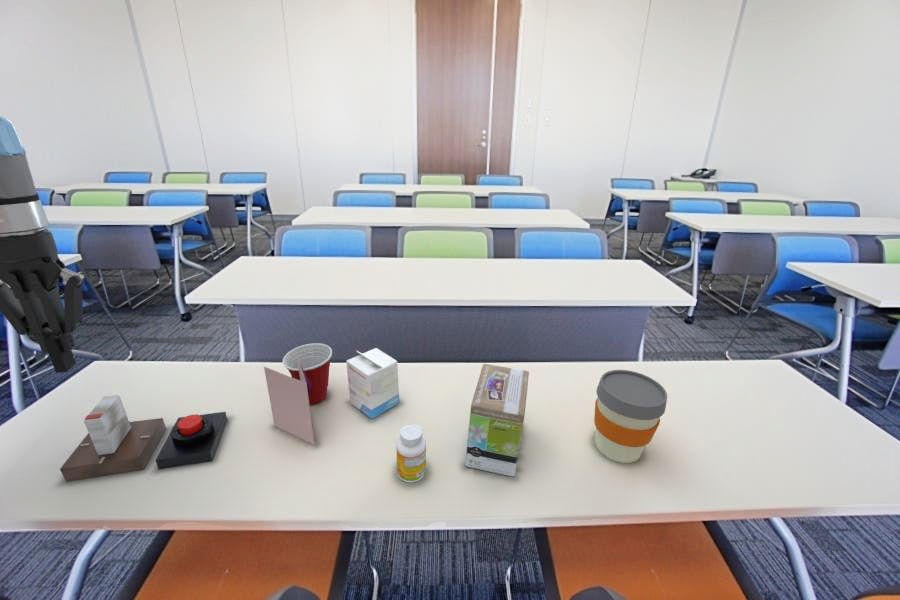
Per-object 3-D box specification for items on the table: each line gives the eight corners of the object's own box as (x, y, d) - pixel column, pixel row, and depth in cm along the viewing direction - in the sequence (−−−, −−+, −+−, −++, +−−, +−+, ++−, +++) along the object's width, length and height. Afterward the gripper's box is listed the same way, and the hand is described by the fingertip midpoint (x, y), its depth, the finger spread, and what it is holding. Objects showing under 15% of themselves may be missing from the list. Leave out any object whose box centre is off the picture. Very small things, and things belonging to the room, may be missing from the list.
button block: (158, 469, 73) (152, 452, 72) (180, 425, 84) (176, 410, 82) (212, 461, 76) (208, 444, 74) (227, 419, 86) (224, 404, 85)
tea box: (516, 478, 74) (525, 415, 68) (464, 467, 76) (468, 405, 70) (522, 425, 88) (529, 368, 82) (477, 417, 90) (481, 361, 84)
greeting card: (319, 443, 81) (311, 382, 75) (280, 455, 77) (268, 392, 71) (308, 410, 90) (301, 353, 84) (273, 420, 87) (262, 361, 81)
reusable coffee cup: (592, 418, 91) (604, 362, 85) (652, 438, 85) (669, 380, 79) (580, 454, 80) (593, 393, 75) (648, 479, 75) (668, 416, 69)
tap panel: (65, 482, 70) (58, 468, 69) (98, 437, 80) (93, 425, 79) (143, 470, 73) (138, 457, 72) (166, 428, 83) (162, 416, 82)
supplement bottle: (397, 461, 77) (396, 421, 73) (425, 460, 78) (425, 420, 74) (396, 484, 72) (395, 443, 68) (426, 482, 73) (426, 441, 69)
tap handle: (116, 429, 78) (103, 395, 75) (131, 427, 79) (119, 393, 76) (97, 455, 72) (82, 419, 69) (114, 453, 73) (99, 417, 69)
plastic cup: (285, 390, 96) (279, 348, 91) (331, 380, 101) (327, 338, 96) (292, 418, 87) (284, 372, 83) (341, 404, 92) (337, 360, 87)
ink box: (400, 403, 93) (399, 354, 88) (370, 420, 88) (368, 368, 82) (377, 387, 99) (375, 340, 93) (348, 402, 93) (344, 353, 88)
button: (176, 436, 76) (174, 429, 75) (183, 422, 80) (181, 416, 79) (199, 433, 77) (198, 426, 76) (205, 420, 81) (204, 413, 80)
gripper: (-67, 237, 53) (1, 385, 62) (53, 236, 56) (100, 376, 65) (-23, 224, 59) (33, 359, 69) (82, 224, 63) (122, 353, 72)
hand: (66, 367), depth 67 cm, fingers closed
